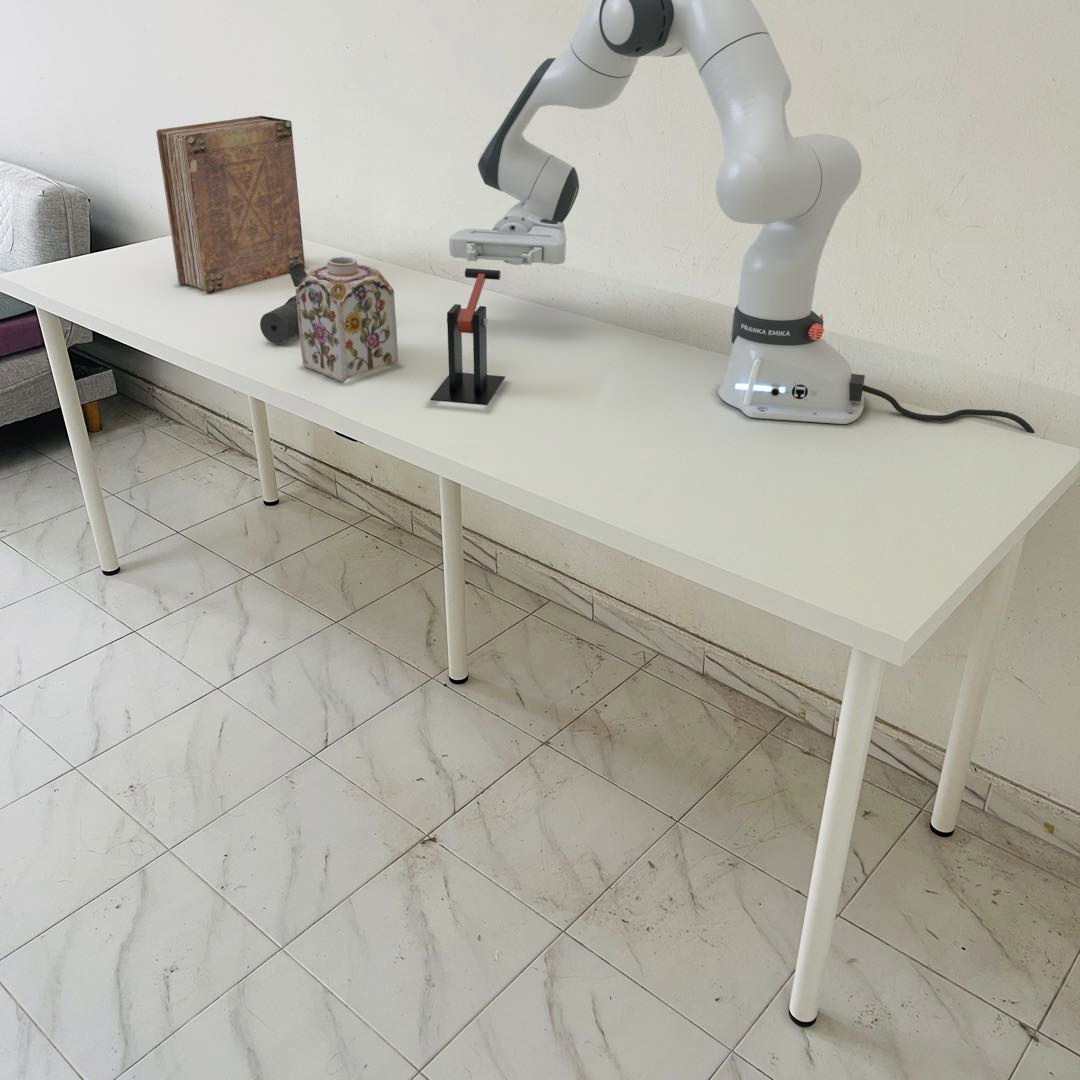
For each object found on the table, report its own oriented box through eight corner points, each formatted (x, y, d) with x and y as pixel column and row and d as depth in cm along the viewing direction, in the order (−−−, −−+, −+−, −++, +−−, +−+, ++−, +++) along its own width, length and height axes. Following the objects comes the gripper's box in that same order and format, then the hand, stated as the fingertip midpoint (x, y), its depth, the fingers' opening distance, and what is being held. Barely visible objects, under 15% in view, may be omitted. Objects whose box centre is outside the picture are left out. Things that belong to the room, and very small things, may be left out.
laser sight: (252, 341, 193) (245, 285, 188) (320, 306, 211) (315, 254, 206) (299, 349, 190) (293, 292, 185) (364, 312, 208) (361, 260, 203)
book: (205, 294, 217) (183, 135, 202) (178, 285, 222) (154, 130, 207) (305, 268, 234) (291, 119, 219) (278, 260, 239) (262, 115, 224)
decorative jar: (300, 367, 182) (289, 259, 173) (355, 350, 190) (348, 246, 181) (345, 385, 175) (336, 274, 166) (401, 367, 183) (395, 260, 174)
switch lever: (467, 275, 175) (466, 263, 173) (501, 278, 174) (499, 266, 172) (448, 331, 167) (446, 319, 165) (483, 334, 166) (481, 322, 164)
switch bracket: (451, 378, 178) (448, 295, 172) (504, 383, 177) (504, 300, 170) (430, 406, 168) (426, 319, 161) (486, 411, 167) (485, 324, 160)
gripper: (459, 216, 194) (437, 235, 182) (572, 223, 190) (558, 242, 179) (460, 252, 197) (439, 272, 185) (572, 259, 193) (557, 280, 182)
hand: (498, 258), depth 182 cm, fingers open, 8 cm apart
